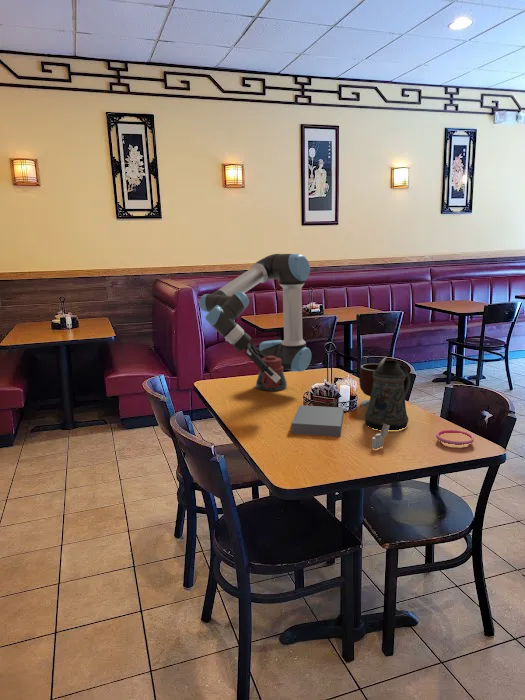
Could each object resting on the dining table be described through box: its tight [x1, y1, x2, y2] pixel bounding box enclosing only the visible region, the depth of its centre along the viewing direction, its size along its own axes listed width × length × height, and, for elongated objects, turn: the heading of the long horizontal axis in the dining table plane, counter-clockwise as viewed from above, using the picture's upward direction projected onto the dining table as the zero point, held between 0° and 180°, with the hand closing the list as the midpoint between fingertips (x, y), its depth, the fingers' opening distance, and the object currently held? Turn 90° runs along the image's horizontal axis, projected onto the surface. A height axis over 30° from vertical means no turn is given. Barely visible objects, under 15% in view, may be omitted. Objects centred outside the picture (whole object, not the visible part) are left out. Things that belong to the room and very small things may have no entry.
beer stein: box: [364, 360, 411, 430], centre depth 198 cm, size 16×19×25 cm
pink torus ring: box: [435, 429, 475, 445], centre depth 180 cm, size 12×12×3 cm
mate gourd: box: [358, 356, 387, 409], centre depth 222 cm, size 16×14×20 cm
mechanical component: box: [257, 356, 284, 388], centre depth 206 cm, size 12×10×10 cm
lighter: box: [371, 424, 390, 449], centre depth 176 cm, size 7×2×8 cm, turn 127°
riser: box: [291, 404, 345, 438], centre depth 199 cm, size 22×18×4 cm
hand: (278, 376), depth 206 cm, fingers closed on mechanical component, 10 cm apart
